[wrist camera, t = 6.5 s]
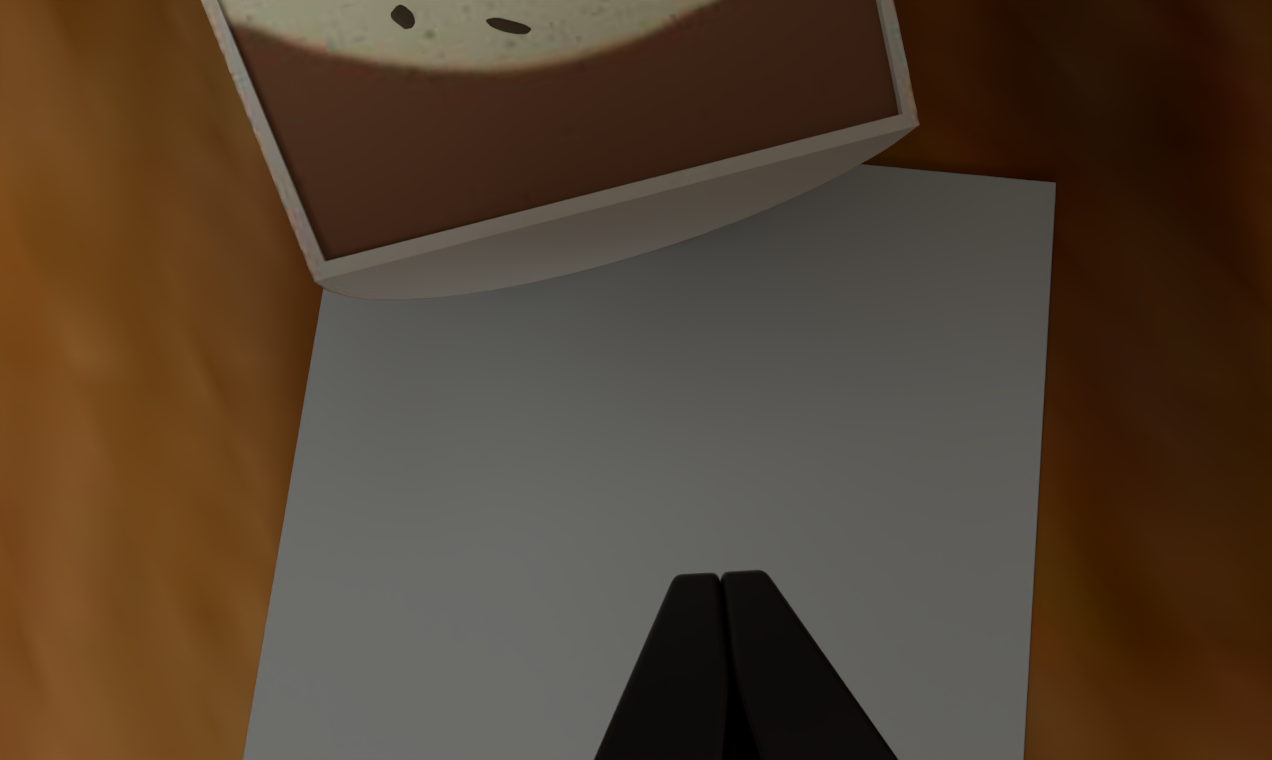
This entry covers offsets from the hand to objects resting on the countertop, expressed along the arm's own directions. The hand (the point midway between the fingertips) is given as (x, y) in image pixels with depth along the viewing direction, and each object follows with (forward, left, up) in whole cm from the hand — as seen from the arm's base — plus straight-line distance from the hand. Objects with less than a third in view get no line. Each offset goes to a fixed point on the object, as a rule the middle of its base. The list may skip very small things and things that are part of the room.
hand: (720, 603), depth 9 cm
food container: (+5, +2, -8) cm, 10 cm away
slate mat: (+1, +1, -10) cm, 10 cm away
